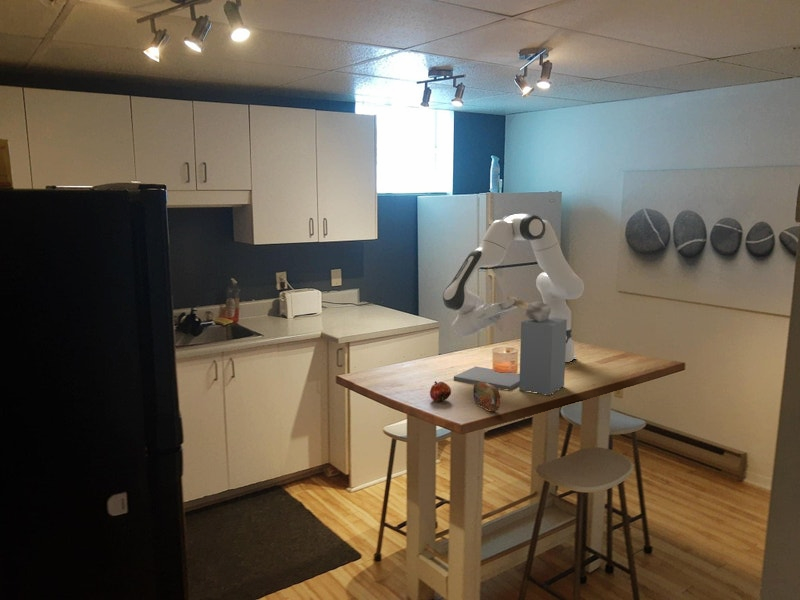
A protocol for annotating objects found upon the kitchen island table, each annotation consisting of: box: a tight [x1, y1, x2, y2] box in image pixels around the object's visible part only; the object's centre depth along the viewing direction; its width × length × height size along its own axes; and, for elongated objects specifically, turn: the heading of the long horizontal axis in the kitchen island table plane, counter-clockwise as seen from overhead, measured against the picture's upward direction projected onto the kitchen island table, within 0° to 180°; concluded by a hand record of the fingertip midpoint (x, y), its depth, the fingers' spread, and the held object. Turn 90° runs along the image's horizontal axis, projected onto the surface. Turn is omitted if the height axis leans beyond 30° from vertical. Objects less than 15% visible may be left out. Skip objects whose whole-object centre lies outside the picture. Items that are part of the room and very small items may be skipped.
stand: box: [518, 317, 567, 396], centre depth 233 cm, size 12×14×26 cm
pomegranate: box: [429, 380, 452, 405], centre depth 219 cm, size 7×7×10 cm
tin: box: [472, 381, 501, 412], centre depth 213 cm, size 15×3×8 cm, turn 21°
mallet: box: [505, 295, 552, 322], centre depth 234 cm, size 16×8×5 cm, turn 55°
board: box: [453, 366, 520, 391], centre depth 247 cm, size 24×18×2 cm
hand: (516, 300), depth 236 cm, fingers closed on mallet, 2 cm apart
